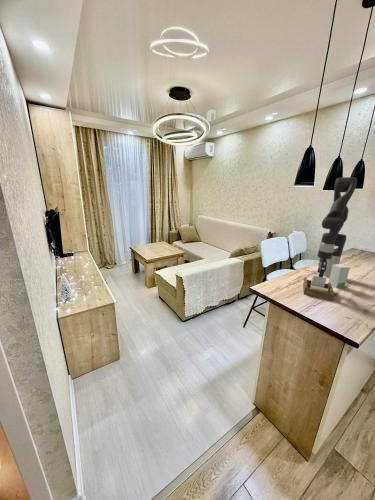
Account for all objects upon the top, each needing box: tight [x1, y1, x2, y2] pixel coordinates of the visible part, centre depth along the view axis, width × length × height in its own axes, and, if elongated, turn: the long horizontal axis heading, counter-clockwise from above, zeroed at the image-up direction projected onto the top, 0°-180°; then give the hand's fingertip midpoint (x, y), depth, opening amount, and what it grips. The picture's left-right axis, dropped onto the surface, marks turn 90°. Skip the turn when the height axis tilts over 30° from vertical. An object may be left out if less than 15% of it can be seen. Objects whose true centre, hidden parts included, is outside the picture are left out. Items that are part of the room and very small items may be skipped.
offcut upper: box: [310, 285, 328, 292], centre depth 129 cm, size 4×9×2 cm, turn 63°
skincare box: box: [328, 263, 351, 289], centre depth 142 cm, size 8×7×16 cm
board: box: [310, 273, 327, 288], centre depth 134 cm, size 3×7×10 cm, turn 63°
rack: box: [302, 277, 335, 301], centre depth 132 cm, size 16×15×6 cm
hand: (319, 274), depth 132 cm, fingers open, 8 cm apart
